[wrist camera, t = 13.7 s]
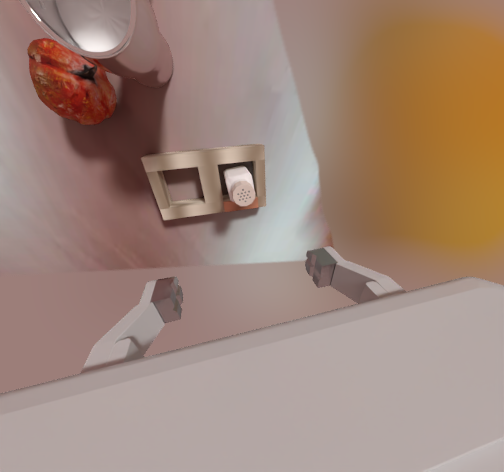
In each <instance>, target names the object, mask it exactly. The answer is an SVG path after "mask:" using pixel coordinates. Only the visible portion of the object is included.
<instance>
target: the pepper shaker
mask: <svg viewBox="0 0 504 472" xmlns="http://www.w3.org/2000/svg"><path fill="white" fill-rule="evenodd" d="M224 177H225V182H226V185H227V189H228V193H229V197H230V200H231V201H233V202H235V203H236V204H237V205H239V206H248V205H250V204H252V202H253V201H254V199H255V190H254V184H253V179H252V175H251V174H250V172H249V171H248V170H247V168H246V167H245V166H243V165H241V166H237V167H233V168H228V169H225V170H224Z"/></svg>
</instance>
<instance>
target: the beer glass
mask: <svg viewBox="0 0 504 472" xmlns="http://www.w3.org/2000/svg"><path fill="white" fill-rule="evenodd" d="M19 1H20V2H21V4H22V5H23V6H24V8H25V9H26V11H27V12H28V13H29V14H30V16H31V17H32V18H33V19H34V20H35V22H36V23H37V24H38V25H39V26H40V27H41V28H42V29H43V30H44V31H45V32H46V33H47V34H48V35H49V36H51V37H52V38H53V39H54V40H55V41H57V42H58V43H60V44H61V45H62V46H64V47H66V48H67V49H69V50H71V51H73V52H74V53H76V54H77V55H79V56H80V57H82V58H83V59H85V60H86V61H88V62H90V63H91V64H93V65H95V66H97V67H99V68H100V69H102V70H104V71H107V72H109V73H112V74H114V75H117V76H120V77H125V78H134V79H136V80H137V81H138V82H139V83H141V84H143V85H145V86H147V87H152V88H157V87H161V86H163V85H165V84H166V83H167V82H168V81H169V79H170V77H171V75H172V71H173V57H172V53H171V50H170V47H169V45H168V43H167V41H166V40H165V38H164V37H163V35H162V34H161V33H160V31H159V27H158V23H157V19H156V16H155V13H154V10H153V8H152V5H151V3H150V1H149V0H19Z"/></svg>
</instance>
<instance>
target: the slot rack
mask: <svg viewBox="0 0 504 472" xmlns="http://www.w3.org/2000/svg"><path fill="white" fill-rule="evenodd" d="M141 160H142V163H143V165H144V168H145V171H146V174H147V176H148V179H149V182H150V184H151V187H152V190H153V193H154V195H155V198H156V201H157V203H158V206H159V209H160V212H161V214H162V217H163V220H170V219H177V218H184V217H191V216H198V215H206V214H213V213H220V212H230V211H237V210H244V209H252V208H258V207H263V206H266V189H265V154H264V145H262V144H251V145H241V146H231V147H220V148H210V149H200V150H190V151H179V152H169V153H159V154H149V155H145V156H143V157H141ZM246 161H252V166H253V182H254V190H255V199H254V201H253V202H252V204H250V205H248V206H239V205H237V204H236V203H235V202H233V201H231V200H230V197H229V195H222V189H221V183H220V177H219V171H218V165H219V164H228V163H237V162H246ZM191 167H198V170H199V175H200V180H201V184H202V189H203V193H204V198H198V199H190V200H182V201H175V202H172V199H171V196H170V193H169V190H168V186H167V183H166V180H165V177H164V174H163V170H172V169H182V168H191Z"/></svg>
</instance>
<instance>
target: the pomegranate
mask: <svg viewBox="0 0 504 472" xmlns="http://www.w3.org/2000/svg"><path fill="white" fill-rule="evenodd" d="M28 55H29V68H30V75H31V79H32V82H33V84H34V87H35V90H36V92H37V94H38V97H39V98H40V100H41V101H42V102H43V103H44V104H45V105H46V106H48V107H49V108H50V109H51V110H52V111H54V112H55V113H57V114H58V115H60V116H61V117H65V118H67V119H71V120H75V121H77V122H79V123H80V124H84V125H91V124H94V125H95V124H99V123H101V122H102V121H103V120H104V119H107V118H110V117H111V116H112V114H113V112H114V110H115V107H116V99H117V98H116V94H115V90H114V88H113V86H112V85H111V84H110V82H109V81H108V79H107V76H106V73H105V71H104V70H102V69H100V68H99V67H97V66H95V65H93V64H91V63H90V62H88V61H86V60H85V59H83V58H82V57H80V56H79V55H77V54H76V53H74V52H73V51H71V50H69V49H67V48H66V47H64V46H62V45H61V44H60V43H58V42H57V41H54V40H51V39H46V38H43V39H38V40H33V41H32V42H31V43H30V45H29V47H28Z"/></svg>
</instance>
